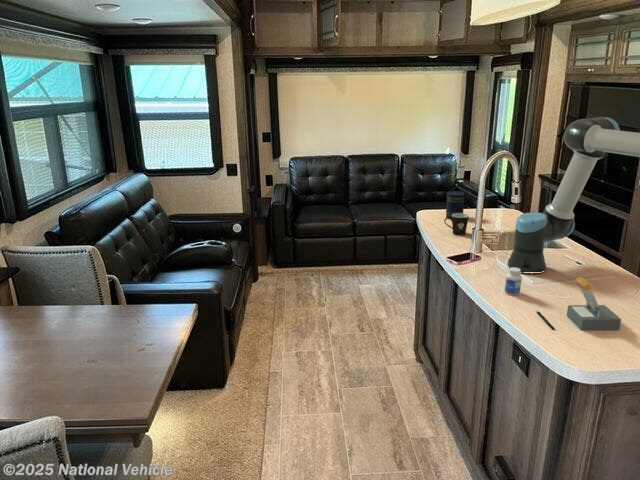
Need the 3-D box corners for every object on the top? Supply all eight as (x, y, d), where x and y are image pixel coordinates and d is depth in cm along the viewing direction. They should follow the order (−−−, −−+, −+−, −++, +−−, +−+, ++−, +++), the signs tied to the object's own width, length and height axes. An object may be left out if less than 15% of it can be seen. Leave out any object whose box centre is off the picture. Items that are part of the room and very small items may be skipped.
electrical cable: (535, 312, 164) (535, 310, 163) (538, 312, 164) (538, 310, 163) (551, 330, 152) (552, 327, 152) (554, 330, 152) (555, 327, 152)
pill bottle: (501, 291, 180) (503, 268, 177) (512, 288, 182) (514, 265, 179) (512, 297, 175) (514, 273, 172) (523, 294, 177) (525, 270, 174)
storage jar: (446, 219, 274) (447, 194, 269) (444, 215, 283) (446, 191, 278) (464, 220, 272) (465, 195, 267) (461, 215, 281) (463, 191, 276)
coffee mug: (469, 232, 250) (470, 214, 247) (464, 236, 243) (466, 218, 240) (448, 229, 256) (449, 211, 253) (442, 233, 249) (443, 215, 246)
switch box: (602, 315, 160) (605, 298, 158) (619, 330, 150) (622, 312, 148) (566, 315, 160) (569, 298, 158) (580, 330, 151) (583, 312, 149)
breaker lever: (594, 304, 156) (580, 276, 153) (603, 312, 151) (589, 283, 148) (588, 307, 157) (574, 279, 154) (597, 315, 151) (583, 286, 148)
